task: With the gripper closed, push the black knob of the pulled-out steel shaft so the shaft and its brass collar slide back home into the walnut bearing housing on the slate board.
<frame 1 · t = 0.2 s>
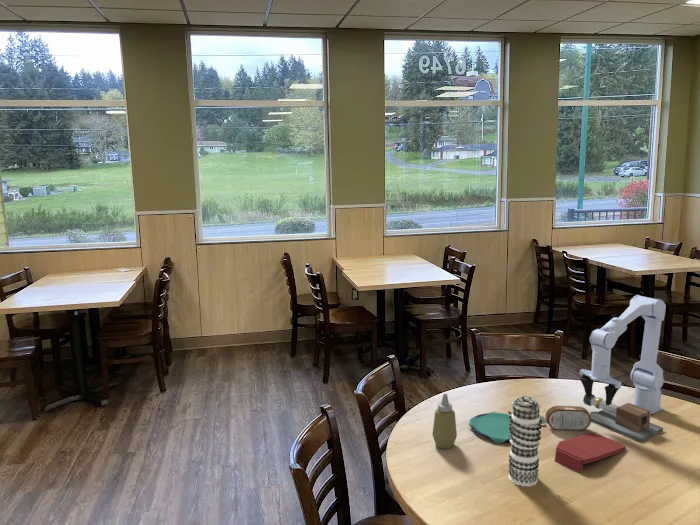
hand: (598, 400, 193), 10 cm above the table, tool pointing down, fingers open, 7 cm apart
green flat slab: (509, 427, 196), on the table
tin: (567, 430, 193), on the table
shaft: (609, 407, 199), point 4 cm above the table, slide at 8.0 cm
squeeze bottle: (444, 445, 184), on the table
decorative candle: (523, 479, 164), on the table
red bent panel: (588, 455, 177), on the table
bearing housing: (631, 428, 193), on the table
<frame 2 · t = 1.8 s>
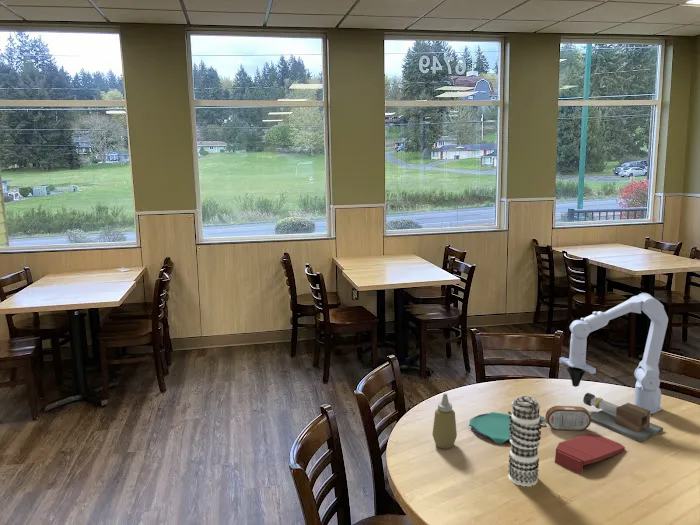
hand: (575, 385, 211), 8 cm above the table, tool pointing down, fingers closed
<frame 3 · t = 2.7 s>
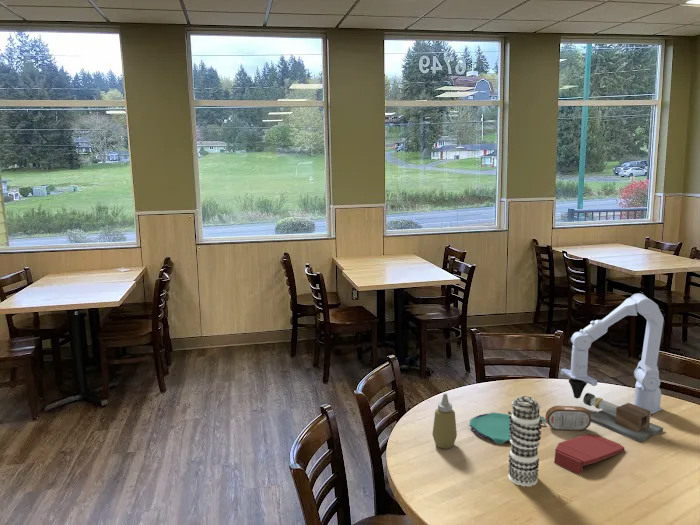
hand: (577, 397, 211), 3 cm above the table, tool pointing down, fingers closed
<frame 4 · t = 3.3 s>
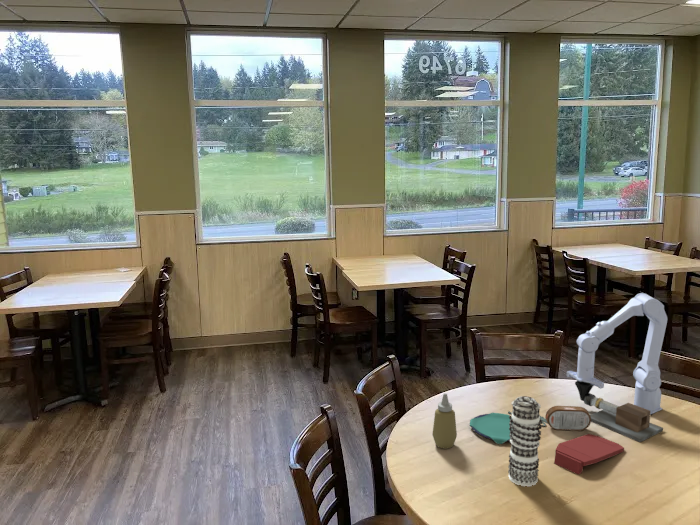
hand: (583, 399, 208), 3 cm above the table, tool pointing down, fingers closed
shaft: (609, 407, 199), point 5 cm above the table, slide at 7.8 cm, touching gripper
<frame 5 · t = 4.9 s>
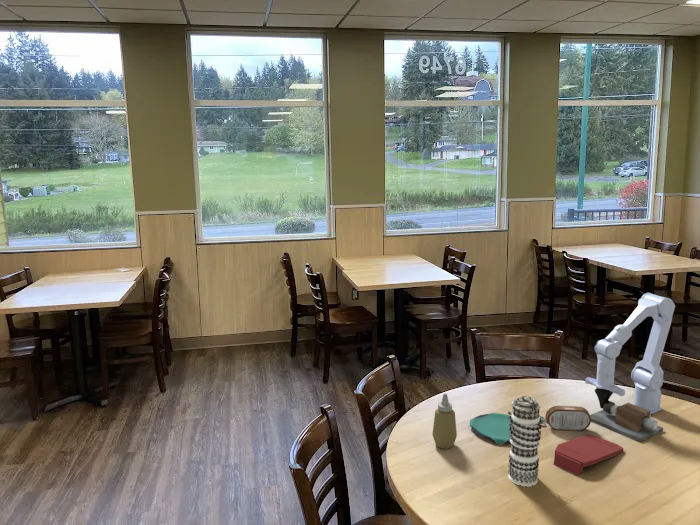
hand: (603, 407, 202), 3 cm above the table, tool pointing down, fingers closed
shaft: (630, 415, 193), point 4 cm above the table, slide at -0.1 cm, touching gripper
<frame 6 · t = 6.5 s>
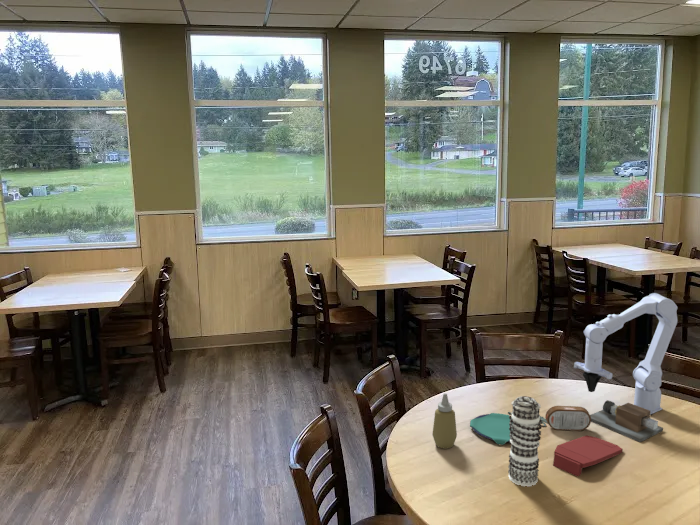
hand: (591, 391, 207), 7 cm above the table, tool pointing down, fingers closed
shaft: (630, 415, 193), point 4 cm above the table, slide at 0.0 cm
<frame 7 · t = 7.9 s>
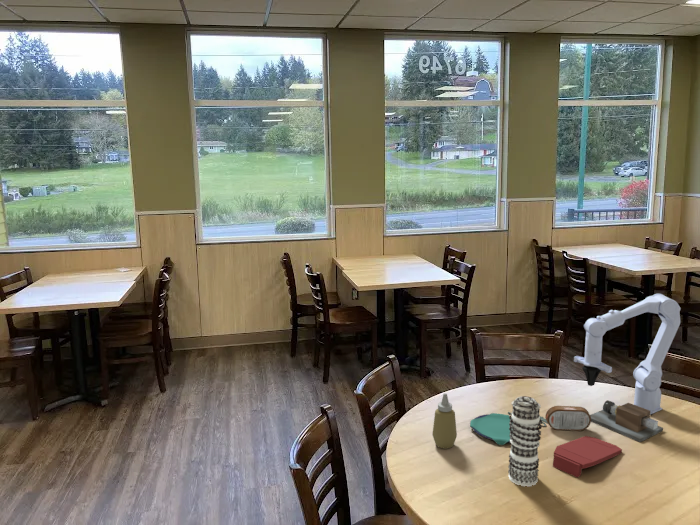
hand: (591, 385, 207), 9 cm above the table, tool pointing down, fingers closed
at the end: shaft slide at 0.0 cm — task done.
